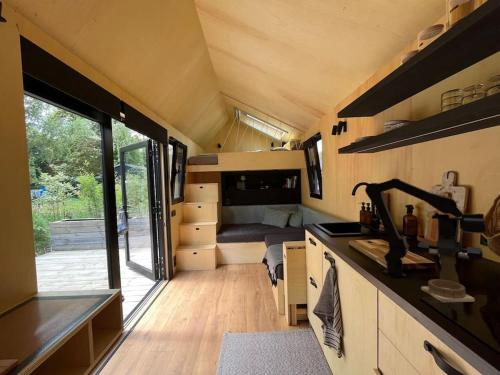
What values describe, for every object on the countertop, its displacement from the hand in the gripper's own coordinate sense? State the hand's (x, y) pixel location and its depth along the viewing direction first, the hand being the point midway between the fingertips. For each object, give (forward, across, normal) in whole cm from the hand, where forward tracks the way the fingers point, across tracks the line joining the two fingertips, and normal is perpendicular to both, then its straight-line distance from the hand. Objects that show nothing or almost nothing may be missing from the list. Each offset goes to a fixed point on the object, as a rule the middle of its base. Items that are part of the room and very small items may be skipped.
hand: (448, 272), depth 93 cm
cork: (+4, 0, 0) cm, 4 cm away
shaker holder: (+4, 0, -12) cm, 13 cm away
